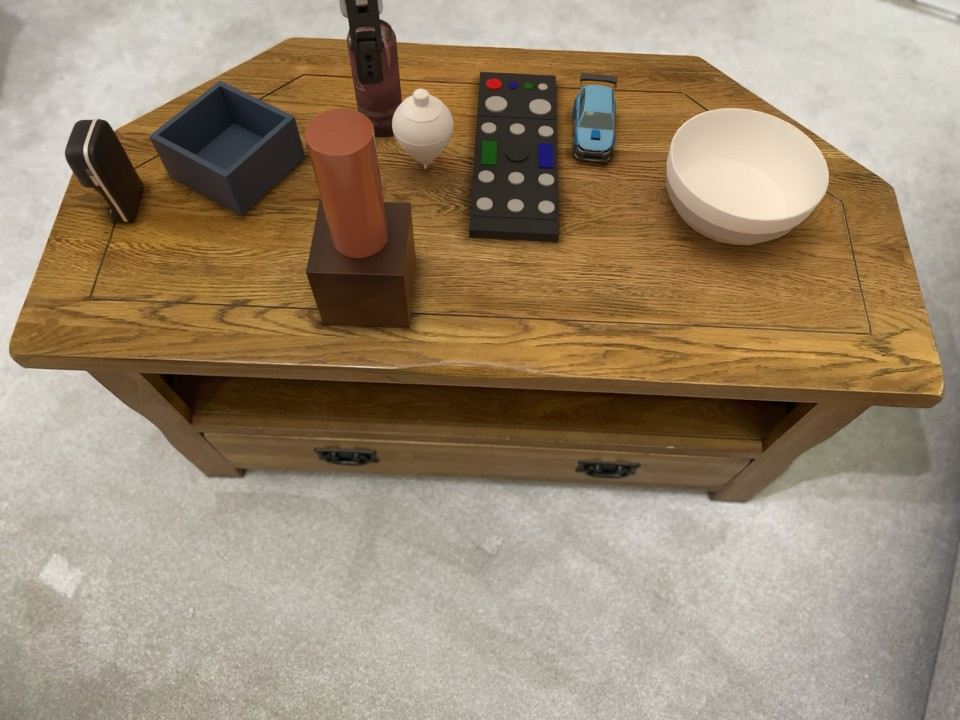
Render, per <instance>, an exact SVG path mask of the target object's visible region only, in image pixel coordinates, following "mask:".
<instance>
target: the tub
mask: <svg viewBox="0 0 960 720" xmlns="http://www.w3.org/2000/svg"><path fill="white" fill-rule="evenodd" d="M148 138H149V140H150V142H151V143H152V145H153V147H154V149H155V151H156V153H157V155H158V157H159V159H160V161H161V163H162V166H163V167H164V169H165V171H166V172H167V174H168V176H169V178H171V179H173V180H175V181H177V182H178V183H180V184H182V185H184V186H185V187H188V188H189V189H192V190H193V191H195V192H197V193H198V194H201V195H202V196H204V197H206V198H208V199H210V200H211V201H214V202H215V203H216V204H219V205H221V206H222V207H224V208H226V209H228V210H230V211H232V212H234V213H235V214H237V215H240V216H241V217H243V216H244V215H245V214H246V213H248V211H250V210H251V208H253V207H254V206H255V205H256V204H257V203H259V202H260V200H262V199H263V198H264V197H265V195H267V194H268V193H269V192H270V191H271V190H272V189H273V188H274V187H276V185H278V184H279V183H280V182H281V181H282V180H283V179H284V178H285V177H286V176H287V175H289V173H291V172H292V171H293V170H294V169H295V168H296V167H297V166H298V165H299V164H300V163H301V162H302V161H304V160H305V159H306V154H305V150H304V147H303V143H302V138H301V135H300V132H299V127H298V123H297V119H296V116H294V115H293V114H290V113H288V112H286V111H284V110H282V109H280V108H278V107H277V106H274V105H272V104H270V103H267V102H266V101H263V100H261V99H260V98H258V97H256V96H253V95H251V94H249V93H246V92H245V91H243V90H241V89H239V88H236V87H235V86H233V85H231V84H229V83H226V82H224V81H222V80H218V81H217V82H216V83H215V84H213V85H212V86H211V87H209V88H208V89H207V90H205V91H204V92H203V93H202V94H201V95H199V96H197V98H196V99H194V100H193V101H191V102H190V103H189V104H188V105H187V106H185V107H184V108H183V109H181V110H180V111H178V113H176V114H175V115H173V116H172V117H171V118H169V120H167V121H166V122H164V123H163V124H162V125H161V126H160V127H158V128H157V129H155V130H154V131H153V132H152V133H151V134H150V135H148Z"/></svg>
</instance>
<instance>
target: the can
mask: <svg viewBox="0 0 960 720" xmlns="http://www.w3.org/2000/svg"><path fill="white" fill-rule="evenodd" d="M380 26H381V34H382V38H383V41H384V48H383V53H381V59H382V68H383V77H384V80H383V82H381V83H379V84H368V85H362V84H360V83H359V80H358V73H357V67H356V60H355V55H353V50H352V51H351V48H350V40H349V37H351V35H350V29H349V28H348V33H347V35H346V45H347V52H348V58H349V64H350V71H351V76H352V82H353V87H354V88H353V89H354V96H355V102H356V107H357V108H356V109H357V111H358V112H361V113H362V114H364V115H365V116H367V117H368V118H369V120H370V121H371V123H372V125H373V129H374V136H376V137H386V136H390V135H394V133H393V129H392V120H393V116H394V113H395V111H396V109H397V108H398V106H399V105H400V104H401V103H402V102H403V98H402V97H403V96H402V88H401V87H402V86H401V76H400V75H401V74H400V64H399V52H398V42H397V35H396V33H395V31H394V29H393V28H392V25H391V24H390V23H388V22H387V21H386V20H384V19H381V18H380ZM371 30H373V31H374V28H373V27H372V26H370V27H359V28H357V29H356V32H360V31H371Z"/></svg>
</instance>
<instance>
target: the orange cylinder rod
mask: <svg viewBox="0 0 960 720" xmlns="http://www.w3.org/2000/svg"><path fill="white" fill-rule="evenodd" d="M375 136H376V135H374V129H373V125H372V123H371V121H370V120H369V118H368V117H367V116H365V115H364V114H362V113H361V112H358V110H355V109H353V108H352V109H351V108H345V107H344V108H343V107H342V108H340V107H339V108H332V109H328V110H325V111H322V112H320V113H318V114H316V115H315V116H314V117H312V118H311V119H310V121H309V122H308V123H307V124H306V127H305V129H304V139H305V143H306V146H307V150H308V154H309V158H310V162H311V166H312V170H313V174H314V177H315V182H316V185H317V189H318V193H319V197H320V200H321V201H322V205H323V209H324V213H325V217H326V221H327V224H328V228H329V232H330V236H331V240H332V244H333V246H334V247H335V249H336V250H337V251H338V252H339V253H341V254H342V255H345V256H347V257H351V258H366V257H369V256H372V255H374V254H376V253H378V252H379V251H380V250H381V249H383V247H384V246H385V245H386V243H387V240H388V227H387V220H386V213H385V206H384V202H385V200H384V192H383V185H382V181H381V179H382V178H381V171H380V164H379V158H378V157H379V156H378V151H377V144H376V137H375Z"/></svg>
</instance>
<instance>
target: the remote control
mask: <svg viewBox="0 0 960 720" xmlns="http://www.w3.org/2000/svg"><path fill="white" fill-rule="evenodd" d="M477 95H478V97H477V109H476V110H477V111H476V125H475V138H474V139H475V140H474V154H473V166H472V168H473V169H472V170H473V171H472V182H471V183H472V184H471V197H470V198H471V199H470V212H469V228H468V238H469V239H486V240H487V239H488V240H490V239H491V240H506V241H507V240H508V241H509V240H510V241H527V242H547V243H558V241H559V236H560V221H559V219H560V217H559V213H560V212H559V172H558V171H559V169H558V167H559V166H558V165H559V163H558V119H557V118H558V117H557V114H558V113H557V112H558V111H557V110H558V109H557V75H554V74H553V75H552V74H551V75H549V74H534V73H533V74H532V73H512V72H494V71H492V72H491V71H480V72H479V81H478V93H477Z"/></svg>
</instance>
